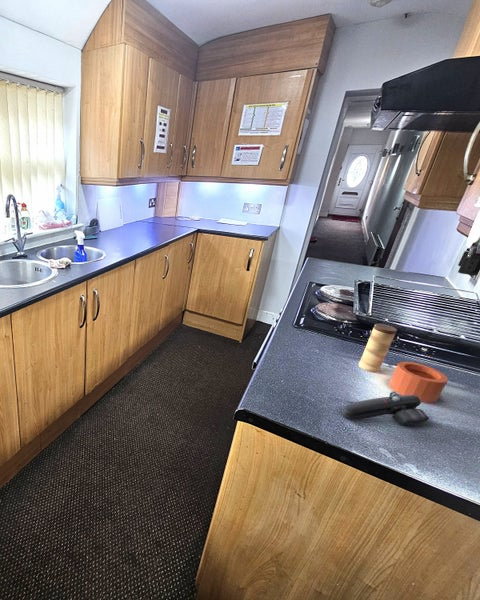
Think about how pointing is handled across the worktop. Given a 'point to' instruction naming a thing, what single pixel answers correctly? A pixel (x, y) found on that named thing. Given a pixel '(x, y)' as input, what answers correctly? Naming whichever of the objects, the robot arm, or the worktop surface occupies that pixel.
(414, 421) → the can opener
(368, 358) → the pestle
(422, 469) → the worktop surface
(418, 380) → the bowl
